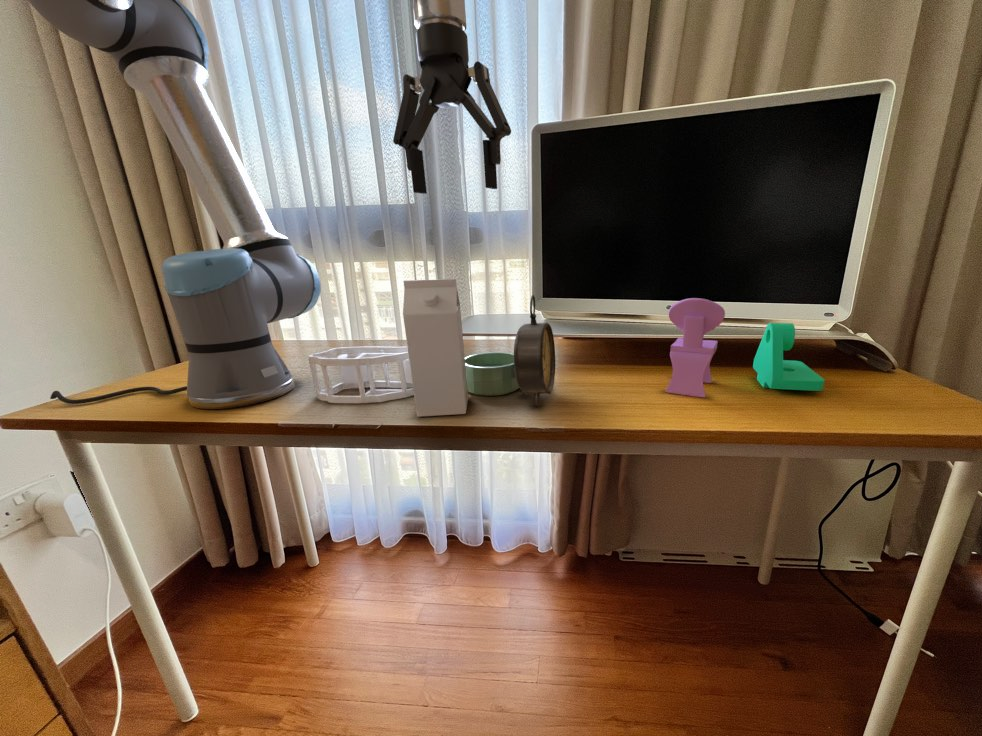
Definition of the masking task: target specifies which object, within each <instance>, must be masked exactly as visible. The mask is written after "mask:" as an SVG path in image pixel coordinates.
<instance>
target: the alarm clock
mask: <svg viewBox="0 0 982 736" xmlns="http://www.w3.org/2000/svg"><path fill="white" fill-rule="evenodd" d="M529 314H530V315H529V318H530V323H524V324H522V325H521V326H520V327H519V328H518V330H517V332H516V335H515V339H514V344H513V354H514V364H513V367H514V369H515V375H516V379H517V383H518V385H519V387H520V388H519V389H520V390H521V391H522V392H523V394H522V396H521V397H523V396H524V395H525V394H527V395H534V408H539V401H540V395H542V394H543V395H549V394H551V392H552V391H553V390H554V389H553V388H554V385H555V378H556V345H555V338H554V332H553V329H552V326H551V324H550V323H549V322H537V314H536V297H535V295H534V294H532V295H531V297H530V301H529Z"/></svg>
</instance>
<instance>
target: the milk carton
mask: <svg viewBox="0 0 982 736" xmlns="http://www.w3.org/2000/svg"><path fill="white" fill-rule="evenodd" d="M403 287H404V288H403V289H404V290H403V305H402V318H403V322H404V323H403V325H404V333H405V338H406V346H407V347H408V354H409V361H410V369H411V376H412V383H413V390H414V395H413V397H414V404H415V412H416V416H417V417H418V418H419V417H434V416H435V417H436V416H450V415H465V414H466V413H467V409H468V408H467V407H468V400H469V391H468V389H467V378H466V366H465V357H466V355H465V345H464V335H463V323H462V312H461V302H460V298H459V292H458V287H457V278H443V279H441V278H440V279H413V280H412V279H410V280H409V279H408V280H403Z"/></svg>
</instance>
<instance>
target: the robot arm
mask: <svg viewBox="0 0 982 736" xmlns="http://www.w3.org/2000/svg"><path fill="white" fill-rule="evenodd" d="M27 1H28V3H29V4H30V5H31V7H33V9H34V10H36V12H37V13H38V14H39V15H40V16H41V17H42V18H43V19H44V20H45V21H47V23H49V24H50V25H52V26H53V27H54V28H55V29H57V30H58V31H59V32H60V33H63V34H64V35H66V36H67V37H69V38H71V39H73V40H74V41H77V42H79V43H80V44H84V45H86V46H89V47H91V48H94V49H95V50H99V51H101V52H104V53H106V54H109V55H110V56H111V57H112V59H113V61H114V63H115V64H116V66H117V68H118V70H119V71H120V73H121V76H122V77H123V79H124V80H125V81H124V82H126V84H127V85H128V86H129V87H130V88H132V89H134V90H135V91H137V92H139V93H140V94H142V95H144V96H145V98H146V100H147V101H148V103H149V105H150V107H151V109H152V110H153V113H154V114H155V116H156V118H157V120H158V122H159V124H160V126H161V128H162V129H163V131H164V134H165V136H166V137H167V139H168V141H169V143H170V144H171V146H172V148H173V151H174V152H175V154H176V155H177V158H178V159H179V161H180V163H181V165H182V167H183V169H184V171H185V173H186V175H187V177H188V178H189V180H190V182H191V184H192V186H193V187H194V190H195V192H196V194H197V195H198V197H199V199H200V201H201V203H202V204H203V206H204V208H205V210H206V212H207V215H208V216H209V218H210V219H211V221H212V224H213V225H214V227H215V229H216V231H217V233H218V235H219V236H220V238H221V240H222V243H223V246H222V248H216V249H215V248H213V249H206V250H197V251H196V250H195V251H191V252H185V253H179V254H175V255H172V256H169V257H167V258H165V259H164V260H163V261H162V263H161V268H160V269H161V272H162V277H163V280H164V289H165V292H166V293H167V296H168V298H169V302H170V304H171V306H172V310H173V313H174V315H175V318H176V321H177V324H178V327H179V330H180V332H181V336H182V339H183V342H184V344H185V348H186V351H187V354H188V368H187V380H186V381H187V382H186V383H187V384H186V386H182V387H178V388H174V389H170V390H162V389H160V388H158V387H155V386H139V387H132V388H128V389H123V390H119V391H114V392H111V393H106V394H102V395H97V396H93V397H88V398H87V397H86V398H80V399H72V398H70V399H69V398H67V397H65V396H64V395H63V394H62V393H61V392H60V391H59V390H54V391H52V393H51V395H50V397H49V400H54V399H58V400H59V401H60V402H62V403H65V404H71V405H80V404H89V403H93V402H99V401H102V400H108V399H112V398H116V397H119V396H123V395H128V394H133V393H138V392H146V391H147V392H148V391H152V392H155V393H158V394H159V395H163V396H169V395H174V394H178V393H181V392H185V391H186V397H187V398H188V402H189V404H190V406H191V407H193V408H197V409H203V410H221V409H232V408H239V407H245V406H251V405H255V404H259V403H262V402H267V401H270V400H272V399H276V398H278V397H281V396H283V395H285V394H287V393H289V392H291V390H293V389H294V388H295V381H294V378H293V375H292V373H291V371H290V370H289V368H288V367H287V365H286V363H285V361H284V360H283V359H282V357H281V356H280V354H279V353H278V351H277V350H276V348H275V346H274V344H273V341H272V337H271V334H270V329H269V325H268V324H271V323H275V322H278V321H282V320H287V319H295V318H296V317H300V316H301V315H303V314H305V313H307V312H309V311H311V310H312V309H313V308H314V307H315V306H316V305H317V304H318V302H319V301H318V300H319V298H320V295H321V290H322V284H321V278H320V275H319V273H318V271H317V269H316V267H315V266H314V264H313V263H312V262H311V261H310V260H309V259H306V258H305V257H304V256H302V255H300V254H297V253H296V252H295V249H294V247H293V245H292V243H291V241H290V239H289V238H288V237H287V236H285V235H283V234H281V233H279V232H277V231H276V230H275V228H274V226H273V225H272V222H271V220H270V218H269V216H268V214H267V212H266V210H265V208H264V206H263V203H262V201H261V200H260V198H259V195H258V193H257V191H256V190H255V188H254V185H253V183H252V181H251V178H250V177H249V175H248V173H247V171H246V169H245V166H244V165H243V163H242V160H241V158H240V157H239V155H238V153H237V151H236V148H235V147H234V146H235V145H234V144H233V143H232V140H231V138H230V136H229V135H228V132H227V130H226V127H225V126H224V124H223V122H222V120H221V118H220V115H219V114H218V112H217V110H216V108H215V105H214V104H213V102H212V100H211V97H210V96H209V93H208V91H207V89H206V87H207V85H208V83H209V80H210V74H209V72H208V68H209V64H210V61H209V59H207V57H208V56H209V55H210V49H209V44H208V41H207V37H206V35H205V33H204V30H203V28H202V26H201V25H200V23H199V22H198V20H197V18H196V17H195V16H194V14H193V13H192V12H191V11H190V10H189V9H188V8H187V7H186V6H185V5H184V4H183V3H182V2H181V1H180V0H27ZM411 1H412V12H413V22H414V26H415V28H416V31H415V40H416V49H417V50H416V51H417V59H418V62H419V66H420V73H419V74H420V75H419V76H412V75H410V74H407V73H405V74H403V77H402V83H403V84H402V87H403V88H402V89H403V93H402V96H401V97H402V98H401V102H400V107H399V110H398V111H399V112H398V116H397V120H396V124H395V130H394V134H393V138H392V142H393V144H394V145H396V146H399V147H402V148H403V149H404V151H405V159H406V168H407V170H408V171H409V172H411V181H412V188H413V189H412V190H413V193H414V194H421V195H423V194H424V195H425V194H427V193H428V192H427V191H428V190H427V183H426V182H427V181H426V173H425V172H426V171H425V164H424V153H423V150H421V149H420V148H419V146H420V144H421V142H422V140H423V138H424V137H425V134H426V132H427V130H428V128H429V126H430V123H431V122H432V119H433V117H434V116H435V114H437V113H438V112H439V110H440V108H441V109H447V108H449V107H460V105H462V106H463V107H464V108H465V110H466V111H467V113H468V114H469V115H470V116H471V118H472V119H473V120H474V122H475V123H476V124H477V125H478V127H479V128H480V129H481V130H482V132H483V133H484V135H485V138H486V139H482V150H483V153H482V154H483V169H484V184H485V188H486V189H490V190H498V175H497V165H501V163H502V159H501V140H502V139H503V138H505V137H509V136H511V134H512V129H511V126H510V124H509V121H508V120H507V117H506V115H505V112H504V111H503V109H502V107H501V104H500V102H499V100H498V97H497V94H496V93H495V91H494V88H493V86H492V84H491V78H490V70H489V68H488V67H487V66H485V65H484V64H483V63H482V62H480V61H475V62H474V64H473V66H471V67H469V61H470V56H469V55H470V54H469V41H468V40H469V39H468V34H467V33H466V30H467V15H466V13H467V12H466V0H411ZM472 81H473V82H474V83H475V84H476V86H477V88H478V90H479V92H480V94H481V97H482V99H483V101H484V103H485V105H486V108H487V110H488V112H489V114H490V117H491V118H492V122H493V123H494V124H493V123H492V122H491V120H490V119H489V118H488V116H487V115H486V114H485V113H484V111H483V110H482V109H481V107H480V106H479V105H478V103H477V102H476V100H475V98H474V97H473V96H472V94H471V93H470V92H469V87H470V85H471V83H472ZM422 91H423V92H422ZM420 94H421V97H420ZM418 104H419V106H418ZM494 125H495V126H494ZM69 472H70V474H71V477H72V479H73V481H74V483H75V485H76V487H77V489H78V491H79V493H80V496H81V497H82V500H83V501H84V503H85V505H86V508H87V509H88V511H89V513H90V515H91V517H92V518H93V516H92V514H91V511H90V509H89V507H88V505H87V503H86V500H85V497H84V495H83V493H82V491H81V489H80V486H79V484H78V482H77V479H76V477H75V475H74V472H75V471H72V470H69Z"/></svg>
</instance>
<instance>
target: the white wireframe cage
mask: <svg viewBox="0 0 982 736" xmlns="http://www.w3.org/2000/svg"><path fill="white" fill-rule="evenodd" d="M335 356H337V357H335ZM308 363H309V369H310V372H311V373H310V374H311V377H312V382H313V385H314V391H315V394H316V398H317V399H318V400H319V401H326V402H327V403H329V404H369V403H384V402H387V401H392V400H400V399H404V398H408V397H411V396H412V397H413V396H414V390H413V383H412V376H411V369H410V361H409V354H408V347H407V345H405V346H402V345H401V346H379V345H378V346H377V345H363V346H362V345H360V346H349V347H348V346H343V347H342V346H341V347H333V348H330V349H328V350H324V351H320V352H316V353H312V354H311V353H310V354H308ZM388 363H397V366H398V367H397V368H398V373H399V378H400V379H399V380H400V381H398V380H397V381H396V380H391V379H390V378H391V377H390V372H389V365H388ZM317 365H319V366H320V367H321V372H322V377H323V381H324V385H325V388H324V389H322V388H321V384H320V379H319V375H318V370H317ZM377 365H381V366H382V370H383V377H384V380H375V378H376V377H377V376H376V369H375V366H377ZM328 367H338V370H339V374H340V380H341V382H339V383H337V384H335V385H333V386H332V383H331V379H330V374H329V368H328ZM365 388H369V390H368V391H367V392H366V389H365ZM379 388H380V389H379ZM385 388H386V389H385ZM347 389H348V390H351V389H358V391H359V395H336V394H338V393H339V392H341V391H343V390H347Z"/></svg>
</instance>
